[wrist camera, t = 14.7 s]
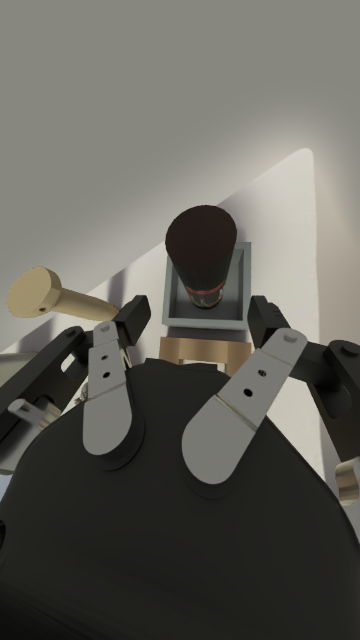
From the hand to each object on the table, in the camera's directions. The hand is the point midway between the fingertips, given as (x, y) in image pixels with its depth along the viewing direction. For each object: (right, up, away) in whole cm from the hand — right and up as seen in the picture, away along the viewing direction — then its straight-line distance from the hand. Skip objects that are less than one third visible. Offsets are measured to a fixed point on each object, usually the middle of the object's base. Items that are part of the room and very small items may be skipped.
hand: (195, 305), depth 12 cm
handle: (-15, 0, +20) cm, 25 cm away
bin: (+4, +4, +16) cm, 17 cm away
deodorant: (+4, +4, +15) cm, 16 cm away
